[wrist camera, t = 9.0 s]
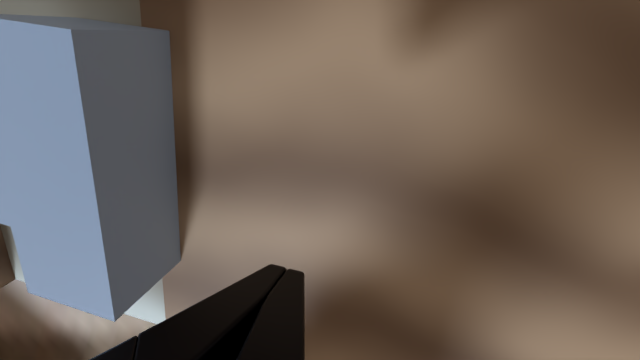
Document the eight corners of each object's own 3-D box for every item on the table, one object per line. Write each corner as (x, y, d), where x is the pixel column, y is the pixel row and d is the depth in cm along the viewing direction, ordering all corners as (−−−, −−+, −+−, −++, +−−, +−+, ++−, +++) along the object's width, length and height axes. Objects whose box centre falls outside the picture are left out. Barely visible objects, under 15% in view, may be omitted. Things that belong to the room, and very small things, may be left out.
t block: (180, 260, 17) (114, 321, 13) (11, 212, 19) (-85, 254, 15) (169, 30, 13) (70, 29, 9) (-44, 0, 15) (-192, -10, 11)
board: (628, 449, 16) (689, 572, 12) (21, 263, 22) (-57, 307, 19) (1005, -70, 8) (1460, -150, 5) (-83, -122, 15) (-247, -172, 11)
